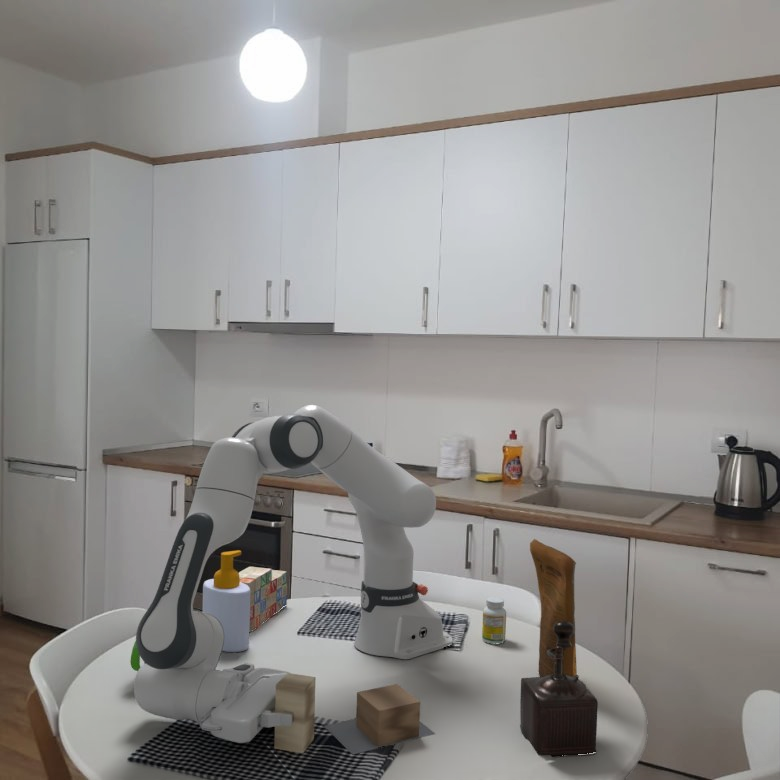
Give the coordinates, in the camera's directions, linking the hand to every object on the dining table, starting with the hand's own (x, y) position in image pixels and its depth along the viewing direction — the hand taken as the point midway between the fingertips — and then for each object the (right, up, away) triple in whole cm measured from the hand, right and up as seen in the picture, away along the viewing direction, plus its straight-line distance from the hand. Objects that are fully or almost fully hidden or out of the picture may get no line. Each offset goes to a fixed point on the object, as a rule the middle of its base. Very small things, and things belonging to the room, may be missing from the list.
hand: (300, 710), depth 131 cm
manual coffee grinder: (+43, -7, +7) cm, 45 cm away
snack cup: (-30, -4, +27) cm, 40 cm away
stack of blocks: (-18, -3, +62) cm, 65 cm away
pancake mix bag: (+48, -6, +29) cm, 56 cm away
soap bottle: (-22, -3, +45) cm, 50 cm away
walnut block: (+14, -6, +6) cm, 17 cm away
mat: (+13, -6, +6) cm, 16 cm away
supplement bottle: (+39, -5, +52) cm, 65 cm away
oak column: (-1, -6, +1) cm, 6 cm away
